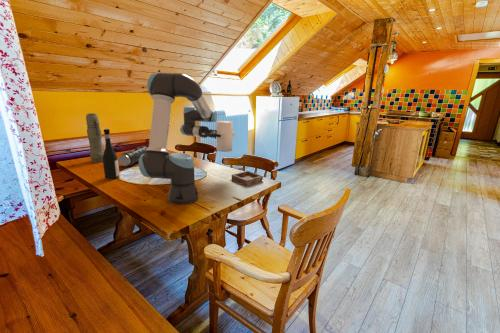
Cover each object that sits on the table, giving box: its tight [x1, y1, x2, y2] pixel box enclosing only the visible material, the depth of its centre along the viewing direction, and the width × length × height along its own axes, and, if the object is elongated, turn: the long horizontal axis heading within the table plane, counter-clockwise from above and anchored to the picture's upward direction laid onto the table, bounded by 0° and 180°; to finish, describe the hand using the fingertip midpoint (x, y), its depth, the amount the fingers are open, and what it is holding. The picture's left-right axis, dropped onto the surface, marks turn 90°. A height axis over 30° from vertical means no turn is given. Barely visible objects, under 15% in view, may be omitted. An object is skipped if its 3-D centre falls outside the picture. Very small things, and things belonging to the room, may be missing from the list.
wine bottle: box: [102, 128, 120, 180], centre depth 153 cm, size 8×8×30 cm
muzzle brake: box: [118, 145, 148, 167], centre depth 188 cm, size 10×28×10 cm, turn 174°
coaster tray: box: [231, 170, 264, 187], centre depth 161 cm, size 14×14×4 cm
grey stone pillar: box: [85, 112, 104, 164], centre depth 185 cm, size 9×12×35 cm
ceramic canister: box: [216, 120, 234, 153], centre depth 161 cm, size 10×10×18 cm
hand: (230, 135), depth 159 cm, fingers closed on ceramic canister, 10 cm apart
